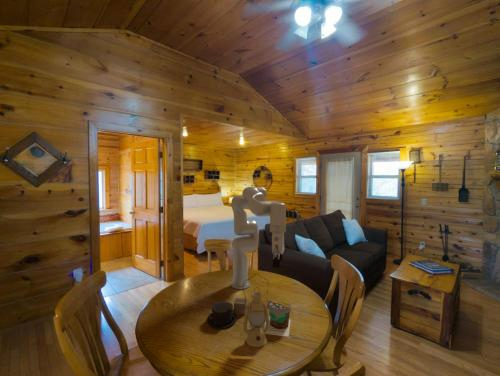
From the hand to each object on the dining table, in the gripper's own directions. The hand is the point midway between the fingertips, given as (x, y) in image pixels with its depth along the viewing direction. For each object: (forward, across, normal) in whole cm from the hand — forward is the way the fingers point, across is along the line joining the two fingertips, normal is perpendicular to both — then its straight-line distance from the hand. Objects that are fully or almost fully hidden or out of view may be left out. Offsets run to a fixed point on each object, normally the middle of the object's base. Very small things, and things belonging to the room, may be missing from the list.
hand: (277, 263), depth 118 cm
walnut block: (+30, +8, +21) cm, 38 cm away
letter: (+30, 0, 0) cm, 30 cm away
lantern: (+31, -13, +8) cm, 34 cm away
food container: (+30, -1, 0) cm, 30 cm away
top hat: (+31, -1, +28) cm, 41 cm away
